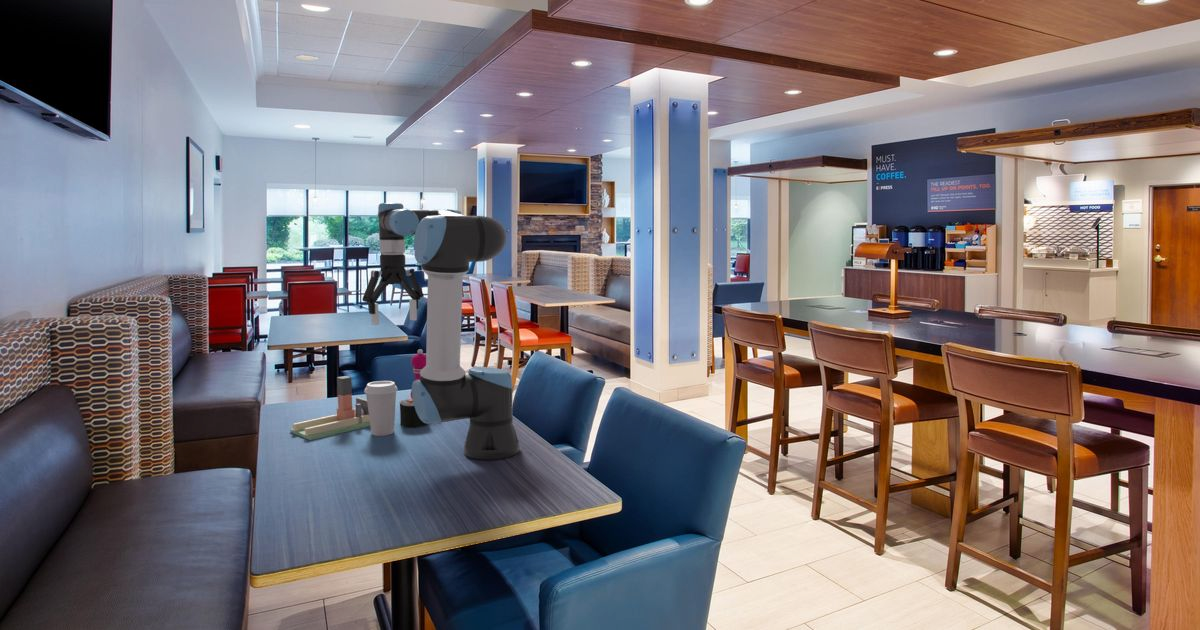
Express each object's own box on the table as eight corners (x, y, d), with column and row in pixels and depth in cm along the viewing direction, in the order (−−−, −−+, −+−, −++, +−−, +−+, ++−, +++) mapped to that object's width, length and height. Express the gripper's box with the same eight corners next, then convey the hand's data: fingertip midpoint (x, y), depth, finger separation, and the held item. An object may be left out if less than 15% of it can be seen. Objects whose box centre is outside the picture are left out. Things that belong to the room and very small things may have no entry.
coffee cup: (404, 428, 218) (402, 380, 216) (391, 438, 209) (390, 387, 207) (373, 427, 219) (372, 379, 217) (360, 436, 210) (358, 387, 208)
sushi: (432, 424, 223) (431, 399, 222) (407, 429, 218) (406, 403, 217) (421, 418, 229) (420, 394, 228) (396, 423, 224) (395, 398, 223)
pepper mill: (410, 405, 246) (408, 347, 244) (431, 403, 248) (430, 346, 246) (411, 410, 239) (409, 351, 237) (433, 408, 242) (431, 350, 239)
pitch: (377, 424, 223) (376, 402, 222) (310, 440, 206) (309, 416, 205) (357, 417, 230) (356, 396, 229) (290, 432, 214) (289, 409, 213)
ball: (365, 406, 223) (353, 411, 220) (368, 418, 224) (356, 423, 221) (358, 404, 226) (347, 409, 223) (361, 415, 227) (349, 420, 224)
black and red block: (354, 422, 220) (352, 377, 218) (345, 424, 218) (343, 379, 216) (346, 419, 224) (344, 375, 222) (337, 421, 221) (335, 376, 219)
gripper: (419, 252, 231) (421, 317, 234) (348, 254, 212) (351, 325, 215) (433, 252, 226) (435, 319, 229) (362, 255, 207) (365, 327, 210)
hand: (394, 322), depth 222 cm, fingers open, 13 cm apart
